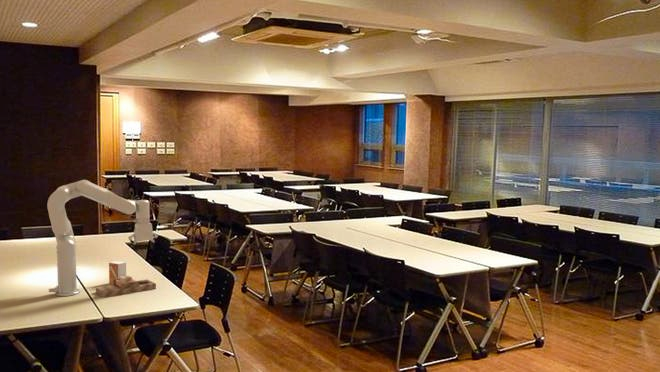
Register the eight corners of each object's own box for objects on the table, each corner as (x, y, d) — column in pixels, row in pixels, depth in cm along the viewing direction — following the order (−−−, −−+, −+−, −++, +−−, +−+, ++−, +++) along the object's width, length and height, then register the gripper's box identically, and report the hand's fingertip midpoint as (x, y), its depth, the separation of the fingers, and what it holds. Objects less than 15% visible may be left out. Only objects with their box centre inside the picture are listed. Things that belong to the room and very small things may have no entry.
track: (103, 297, 311) (103, 286, 311) (95, 292, 321) (95, 282, 321) (156, 288, 330) (155, 278, 330) (147, 284, 340) (146, 274, 340)
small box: (109, 283, 341) (108, 262, 340) (117, 281, 346) (117, 260, 345) (118, 285, 337) (117, 264, 336) (126, 283, 342) (126, 262, 341)
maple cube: (123, 287, 322) (123, 278, 322) (120, 285, 326) (120, 276, 325) (132, 285, 325) (132, 277, 325) (128, 283, 329) (128, 275, 329)
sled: (121, 287, 319) (121, 283, 319) (115, 284, 326) (115, 280, 326) (136, 285, 325) (136, 281, 325) (130, 282, 331) (130, 278, 331)
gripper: (129, 223, 324) (130, 252, 325) (159, 220, 334) (160, 249, 335) (126, 221, 330) (126, 250, 331) (155, 219, 340) (156, 247, 341)
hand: (143, 249), depth 333 cm, fingers open, 9 cm apart
